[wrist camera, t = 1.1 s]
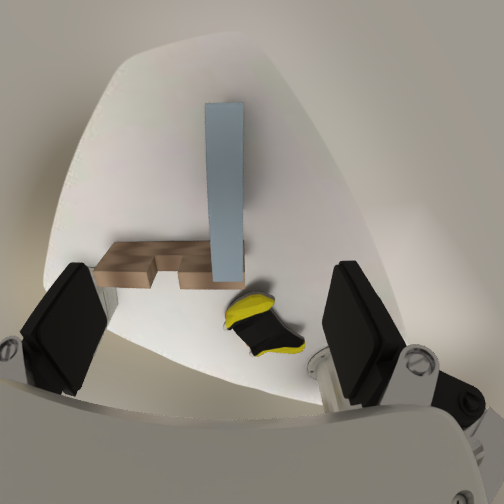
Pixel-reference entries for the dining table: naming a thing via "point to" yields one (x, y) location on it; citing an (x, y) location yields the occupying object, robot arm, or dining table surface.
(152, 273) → the walnut slotted plate
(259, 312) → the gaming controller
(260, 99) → the dining table surface
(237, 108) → the slate slotted plate
